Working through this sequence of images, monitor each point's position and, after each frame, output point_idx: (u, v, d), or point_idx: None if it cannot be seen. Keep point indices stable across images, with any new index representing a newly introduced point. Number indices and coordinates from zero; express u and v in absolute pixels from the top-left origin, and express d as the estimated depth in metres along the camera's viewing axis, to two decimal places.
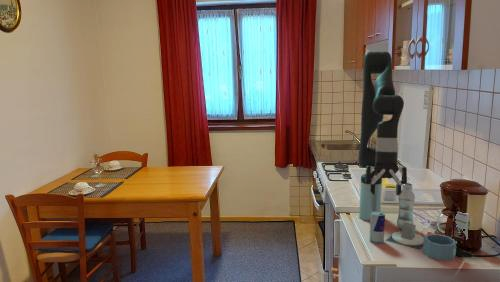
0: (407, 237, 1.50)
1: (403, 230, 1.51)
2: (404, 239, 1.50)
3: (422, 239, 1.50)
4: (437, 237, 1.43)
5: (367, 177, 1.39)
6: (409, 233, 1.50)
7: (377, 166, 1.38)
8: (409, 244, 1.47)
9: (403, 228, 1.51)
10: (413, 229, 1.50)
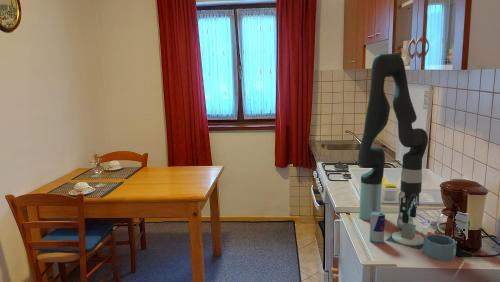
0: (407, 237, 1.50)
1: (403, 230, 1.51)
2: (404, 239, 1.50)
3: (422, 239, 1.50)
4: (437, 237, 1.43)
5: (406, 209, 1.44)
6: (409, 233, 1.50)
7: (410, 196, 1.46)
8: (409, 244, 1.47)
9: (403, 228, 1.51)
10: (413, 229, 1.50)
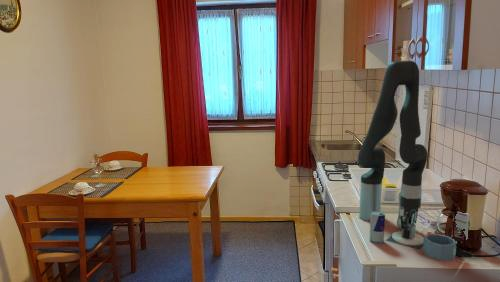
0: None
1: (403, 230, 1.51)
2: (404, 239, 1.50)
3: (422, 239, 1.50)
4: (437, 237, 1.43)
5: (407, 226, 1.46)
6: None
7: (409, 212, 1.47)
8: (409, 244, 1.47)
9: None
10: (413, 229, 1.50)
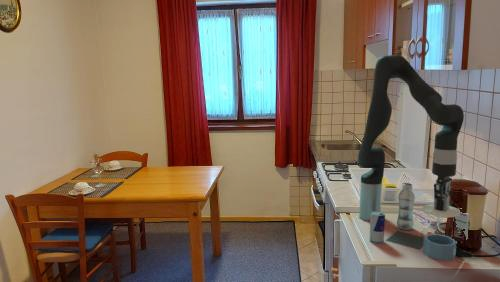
0: None
1: None
2: (437, 211, 1.35)
3: (457, 211, 1.35)
4: (437, 237, 1.43)
5: (442, 195, 1.31)
6: None
7: (443, 180, 1.32)
8: (444, 215, 1.31)
9: (436, 199, 1.36)
10: (447, 199, 1.35)
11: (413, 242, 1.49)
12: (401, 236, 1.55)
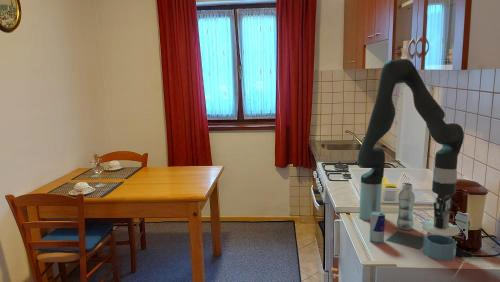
0: None
1: None
2: (437, 229, 1.35)
3: (457, 229, 1.35)
4: (437, 237, 1.43)
5: (441, 214, 1.32)
6: (443, 222, 1.35)
7: (443, 199, 1.33)
8: (443, 234, 1.32)
9: None
10: (447, 218, 1.35)
11: (413, 242, 1.49)
12: (401, 236, 1.55)
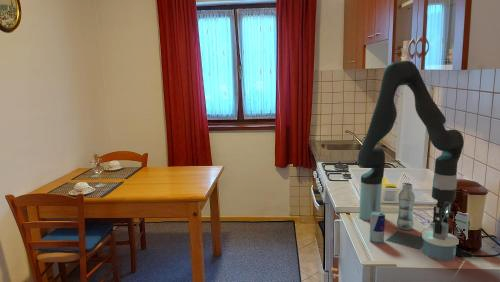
0: (440, 237, 1.37)
1: None
2: (436, 239, 1.36)
3: (456, 239, 1.36)
4: None
5: (440, 219, 1.32)
6: (442, 232, 1.36)
7: (443, 204, 1.33)
8: (443, 245, 1.33)
9: None
10: (446, 228, 1.36)
11: (413, 242, 1.49)
12: (401, 236, 1.55)
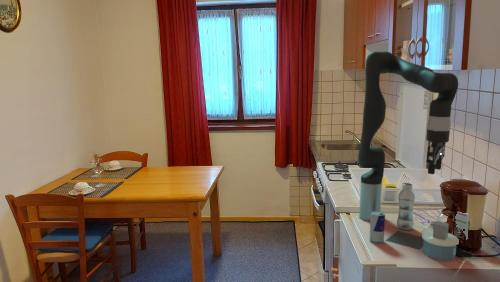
0: (440, 237, 1.37)
1: (435, 229, 1.37)
2: (436, 239, 1.36)
3: (456, 239, 1.36)
4: None
5: (434, 158, 1.35)
6: (442, 232, 1.36)
7: (437, 146, 1.37)
8: (443, 245, 1.33)
9: (435, 227, 1.37)
10: (446, 228, 1.36)
11: (413, 242, 1.49)
12: (401, 236, 1.55)
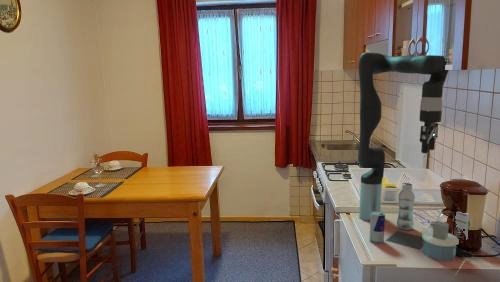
0: (440, 237, 1.37)
1: (435, 229, 1.37)
2: (436, 239, 1.36)
3: (456, 239, 1.36)
4: None
5: (427, 137, 1.40)
6: (442, 232, 1.36)
7: (430, 125, 1.42)
8: (443, 245, 1.33)
9: (435, 227, 1.37)
10: (446, 228, 1.36)
11: (413, 242, 1.49)
12: (401, 236, 1.55)
